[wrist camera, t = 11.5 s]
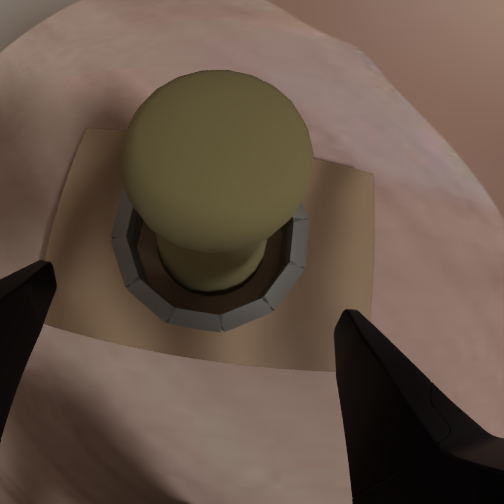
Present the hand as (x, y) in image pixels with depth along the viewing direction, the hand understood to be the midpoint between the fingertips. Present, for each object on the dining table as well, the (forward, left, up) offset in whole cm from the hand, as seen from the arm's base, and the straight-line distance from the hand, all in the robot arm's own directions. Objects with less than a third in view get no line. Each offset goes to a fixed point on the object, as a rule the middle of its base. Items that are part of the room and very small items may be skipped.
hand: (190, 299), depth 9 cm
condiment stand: (+2, +3, -9) cm, 10 cm away
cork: (+2, +3, -8) cm, 9 cm away
